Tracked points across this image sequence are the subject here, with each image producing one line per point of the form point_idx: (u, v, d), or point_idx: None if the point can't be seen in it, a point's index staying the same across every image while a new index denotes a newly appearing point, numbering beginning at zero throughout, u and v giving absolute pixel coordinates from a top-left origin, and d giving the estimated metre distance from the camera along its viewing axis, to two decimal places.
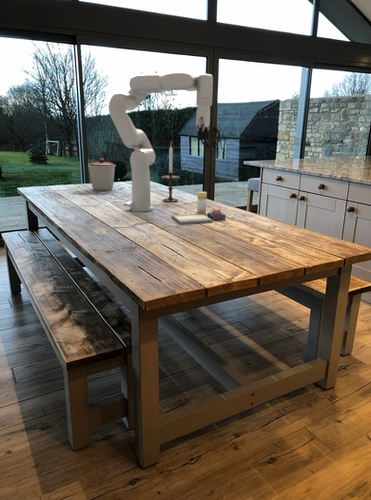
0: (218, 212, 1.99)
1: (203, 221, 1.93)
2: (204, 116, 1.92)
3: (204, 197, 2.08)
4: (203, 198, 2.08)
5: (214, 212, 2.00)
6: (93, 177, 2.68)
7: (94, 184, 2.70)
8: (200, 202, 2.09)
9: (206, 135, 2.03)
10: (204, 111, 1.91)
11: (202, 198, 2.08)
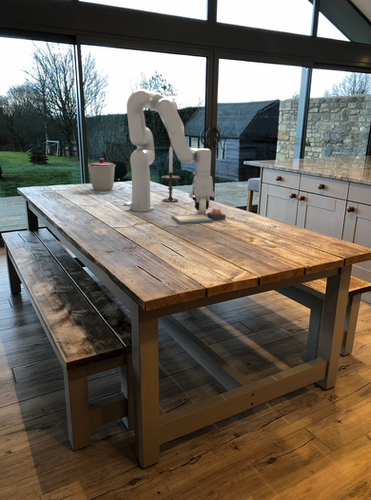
0: (218, 212, 1.99)
1: (203, 221, 1.93)
2: None
3: (204, 197, 2.08)
4: (203, 198, 2.08)
5: (214, 212, 2.00)
6: (93, 177, 2.68)
7: (94, 184, 2.70)
8: (200, 202, 2.09)
9: None
10: None
11: (202, 198, 2.08)
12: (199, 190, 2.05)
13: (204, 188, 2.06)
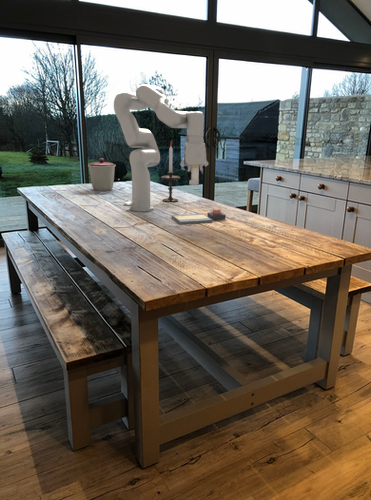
0: (218, 212, 1.99)
1: (203, 221, 1.93)
2: None
3: (197, 166, 1.90)
4: (195, 167, 1.90)
5: (214, 212, 2.00)
6: (93, 177, 2.68)
7: (94, 184, 2.70)
8: (192, 171, 1.91)
9: None
10: None
11: (194, 167, 1.90)
12: (191, 158, 1.87)
13: (196, 155, 1.88)
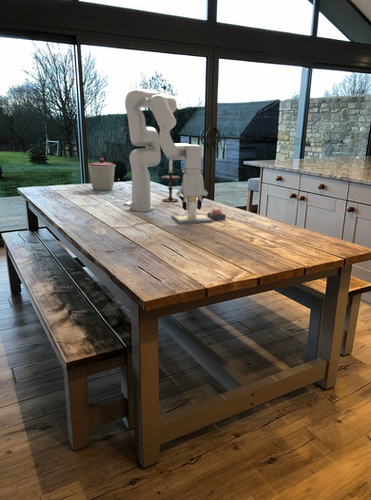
0: (218, 212, 1.99)
1: (203, 221, 1.93)
2: None
3: (194, 200, 1.93)
4: (193, 201, 1.93)
5: (214, 212, 2.00)
6: (93, 177, 2.68)
7: (94, 184, 2.70)
8: (190, 205, 1.94)
9: None
10: None
11: (192, 201, 1.93)
12: (189, 189, 1.90)
13: (194, 187, 1.91)
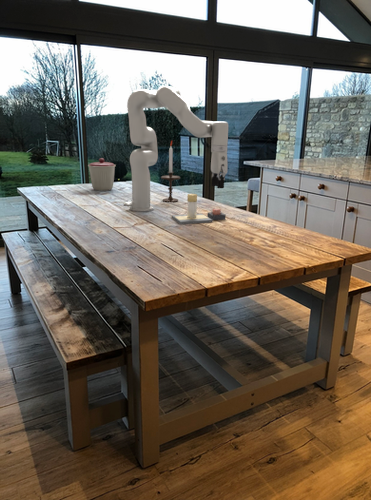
0: (218, 212, 1.99)
1: (203, 221, 1.93)
2: None
3: (194, 200, 1.93)
4: (193, 201, 1.93)
5: (214, 212, 2.00)
6: (93, 177, 2.68)
7: (94, 184, 2.70)
8: (190, 205, 1.94)
9: None
10: None
11: (192, 201, 1.93)
12: None
13: None
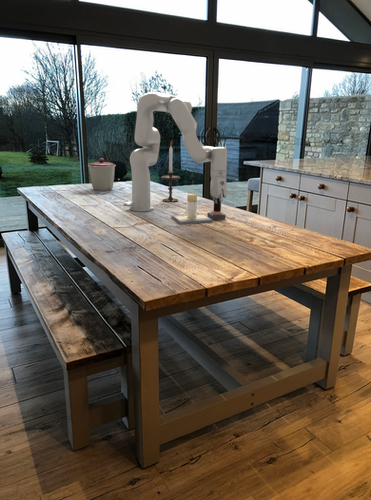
0: (218, 214, 2.00)
1: (203, 221, 1.93)
2: None
3: (194, 200, 1.93)
4: (193, 201, 1.93)
5: (214, 214, 2.00)
6: (93, 177, 2.68)
7: (94, 184, 2.70)
8: (190, 205, 1.94)
9: None
10: None
11: (192, 201, 1.93)
12: None
13: None
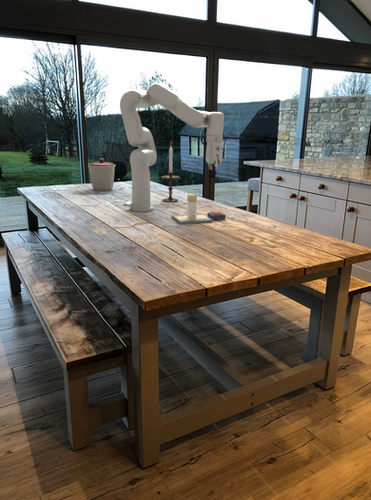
0: (218, 214, 2.00)
1: (203, 221, 1.93)
2: None
3: (194, 200, 1.93)
4: (193, 201, 1.93)
5: (214, 214, 2.00)
6: (93, 177, 2.68)
7: (94, 184, 2.70)
8: (190, 205, 1.94)
9: None
10: None
11: (192, 201, 1.93)
12: None
13: None
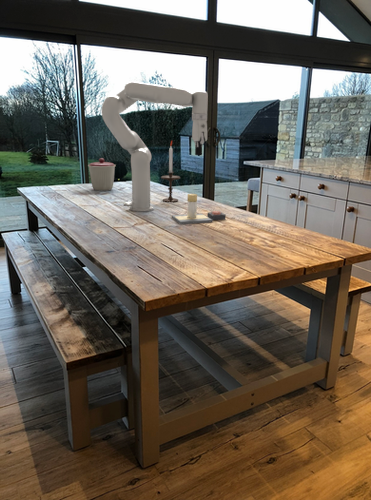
0: (218, 214, 2.00)
1: (203, 221, 1.93)
2: None
3: (194, 200, 1.93)
4: (193, 201, 1.93)
5: (214, 214, 2.00)
6: (93, 177, 2.68)
7: (94, 184, 2.70)
8: (190, 205, 1.94)
9: None
10: None
11: (192, 201, 1.93)
12: None
13: None
